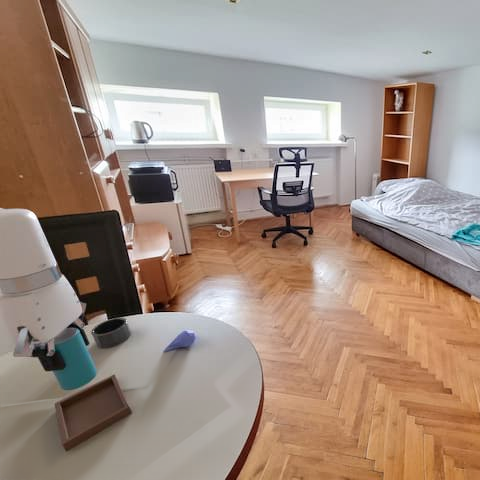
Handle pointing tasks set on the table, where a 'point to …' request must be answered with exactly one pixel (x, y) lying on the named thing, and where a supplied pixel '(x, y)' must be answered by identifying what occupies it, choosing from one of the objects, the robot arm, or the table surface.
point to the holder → (111, 333)
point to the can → (73, 360)
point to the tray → (90, 411)
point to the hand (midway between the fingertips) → (68, 356)
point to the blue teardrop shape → (182, 340)
